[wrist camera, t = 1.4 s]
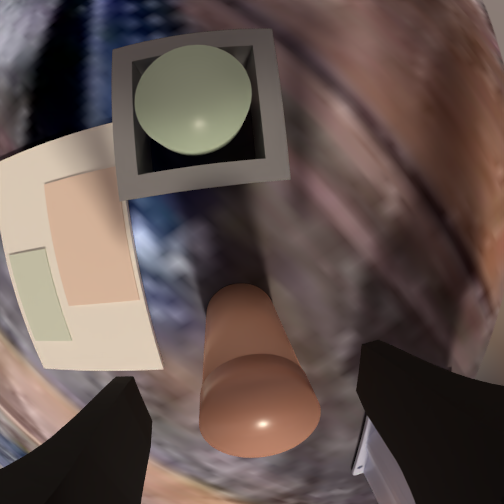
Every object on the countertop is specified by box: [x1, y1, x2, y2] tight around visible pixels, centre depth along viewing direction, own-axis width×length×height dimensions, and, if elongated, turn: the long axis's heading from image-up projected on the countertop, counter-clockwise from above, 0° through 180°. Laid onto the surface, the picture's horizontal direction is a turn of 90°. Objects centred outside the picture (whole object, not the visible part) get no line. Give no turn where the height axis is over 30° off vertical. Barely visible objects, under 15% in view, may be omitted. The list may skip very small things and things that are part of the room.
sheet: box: [0, 123, 164, 371], centre depth 12 cm, size 12×8×1 cm, turn 5°
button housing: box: [112, 29, 291, 201], centre depth 10 cm, size 6×6×2 cm
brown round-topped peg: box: [199, 283, 321, 458], centre depth 10 cm, size 3×3×7 cm
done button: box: [135, 45, 252, 156], centre depth 9 cm, size 4×4×2 cm
